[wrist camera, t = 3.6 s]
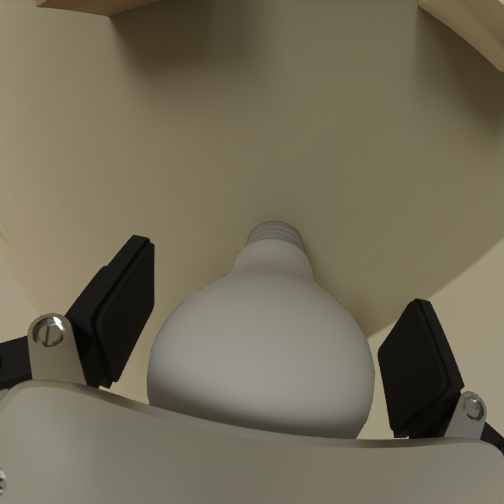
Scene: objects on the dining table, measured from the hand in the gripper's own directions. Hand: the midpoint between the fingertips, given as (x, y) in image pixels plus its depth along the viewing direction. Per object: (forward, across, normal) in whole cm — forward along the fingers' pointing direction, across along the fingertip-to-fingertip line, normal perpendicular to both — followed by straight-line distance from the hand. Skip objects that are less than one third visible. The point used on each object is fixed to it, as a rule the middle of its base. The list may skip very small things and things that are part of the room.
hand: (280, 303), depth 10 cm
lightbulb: (+5, 0, 0) cm, 5 cm away
